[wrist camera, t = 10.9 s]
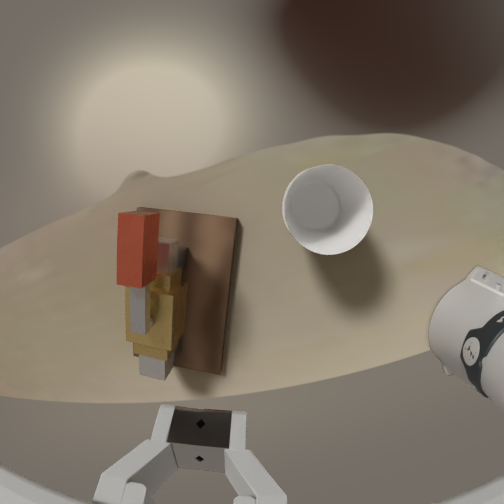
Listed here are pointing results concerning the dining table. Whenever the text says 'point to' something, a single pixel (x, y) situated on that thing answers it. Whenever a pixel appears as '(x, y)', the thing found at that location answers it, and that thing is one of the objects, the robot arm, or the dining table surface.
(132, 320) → the lever
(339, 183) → the cup
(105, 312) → the dining table surface
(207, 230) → the board
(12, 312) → the dining table surface
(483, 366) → the robot arm
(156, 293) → the valve
